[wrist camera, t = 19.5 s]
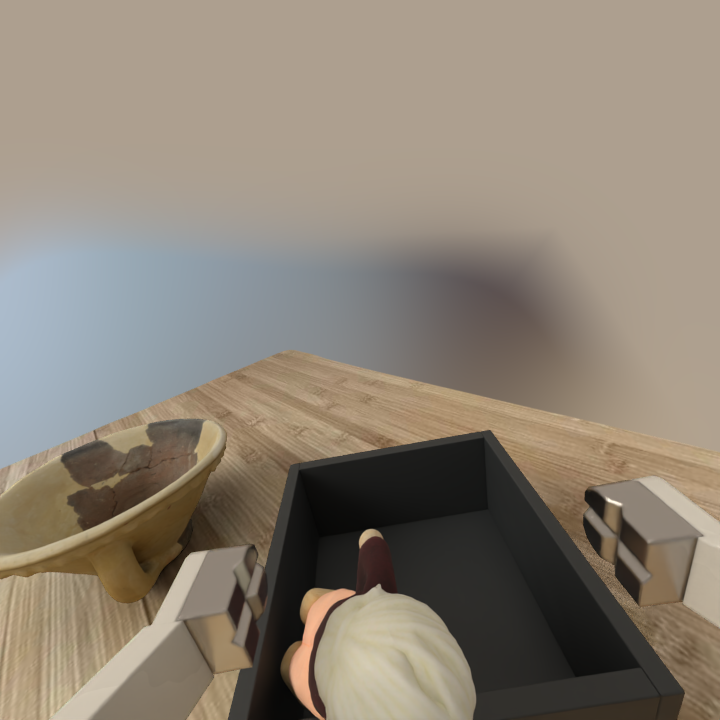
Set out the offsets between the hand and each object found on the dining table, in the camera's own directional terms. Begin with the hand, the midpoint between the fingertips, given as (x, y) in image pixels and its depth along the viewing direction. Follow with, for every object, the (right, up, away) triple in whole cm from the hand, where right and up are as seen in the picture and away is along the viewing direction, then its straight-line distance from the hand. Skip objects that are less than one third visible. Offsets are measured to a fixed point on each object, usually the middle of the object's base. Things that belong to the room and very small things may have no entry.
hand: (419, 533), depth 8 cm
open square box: (+3, -13, +13) cm, 18 cm away
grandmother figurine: (-3, -9, +8) cm, 13 cm away
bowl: (-20, -13, +23) cm, 33 cm away
